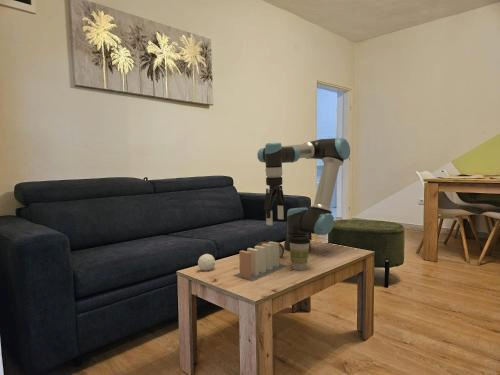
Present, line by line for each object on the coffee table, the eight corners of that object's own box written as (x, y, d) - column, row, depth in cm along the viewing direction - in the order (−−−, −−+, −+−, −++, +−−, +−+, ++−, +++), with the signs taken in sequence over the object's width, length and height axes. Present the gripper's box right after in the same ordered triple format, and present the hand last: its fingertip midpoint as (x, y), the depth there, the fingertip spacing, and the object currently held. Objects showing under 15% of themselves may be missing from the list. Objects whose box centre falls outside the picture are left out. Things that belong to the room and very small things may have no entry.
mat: (269, 262, 164) (269, 261, 164) (288, 267, 157) (288, 265, 157) (232, 277, 144) (232, 275, 144) (252, 283, 137) (252, 281, 137)
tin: (284, 257, 172) (284, 241, 172) (284, 259, 169) (284, 243, 168) (255, 257, 174) (254, 241, 173) (254, 259, 171) (254, 242, 170)
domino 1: (242, 275, 144) (242, 250, 143) (251, 277, 141) (251, 252, 140) (239, 276, 143) (239, 251, 142) (248, 279, 140) (248, 253, 139)
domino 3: (257, 269, 152) (257, 245, 151) (265, 271, 149) (265, 247, 148) (254, 270, 151) (254, 246, 150) (263, 272, 147) (263, 248, 146)
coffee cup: (293, 273, 148) (294, 240, 147) (285, 267, 157) (285, 235, 156) (313, 271, 151) (314, 238, 149) (304, 265, 160) (304, 234, 159)
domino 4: (263, 266, 156) (263, 243, 155) (272, 268, 153) (272, 245, 152) (261, 267, 154) (261, 244, 154) (270, 269, 151) (270, 245, 150)
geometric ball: (210, 275, 155) (220, 260, 156) (204, 274, 148) (215, 259, 149) (198, 265, 158) (208, 251, 159) (192, 264, 150) (202, 249, 151)
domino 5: (270, 264, 160) (270, 241, 159) (279, 266, 156) (279, 242, 155) (268, 264, 158) (268, 242, 157) (276, 267, 155) (276, 243, 154)
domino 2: (250, 272, 148) (249, 247, 147) (258, 274, 145) (258, 249, 144) (247, 273, 147) (247, 248, 146) (256, 275, 144) (256, 250, 143)
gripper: (276, 174, 167) (277, 216, 169) (254, 179, 145) (256, 227, 147) (291, 174, 164) (292, 217, 166) (270, 179, 141) (272, 228, 144)
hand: (275, 221), depth 156 cm, fingers open, 13 cm apart
